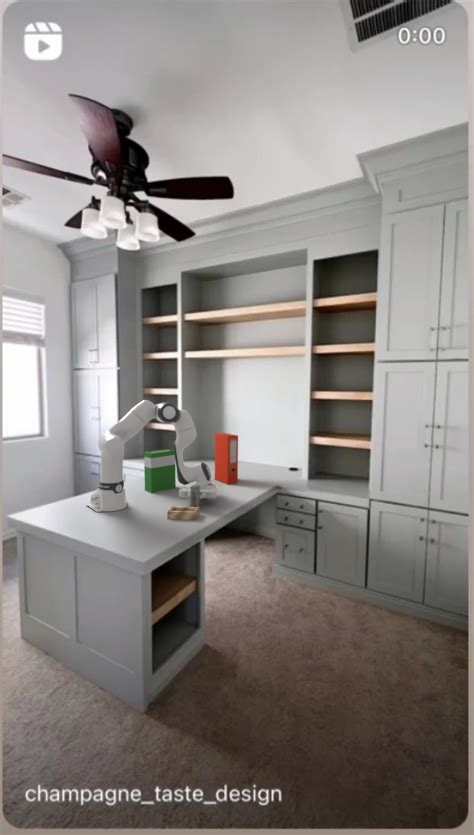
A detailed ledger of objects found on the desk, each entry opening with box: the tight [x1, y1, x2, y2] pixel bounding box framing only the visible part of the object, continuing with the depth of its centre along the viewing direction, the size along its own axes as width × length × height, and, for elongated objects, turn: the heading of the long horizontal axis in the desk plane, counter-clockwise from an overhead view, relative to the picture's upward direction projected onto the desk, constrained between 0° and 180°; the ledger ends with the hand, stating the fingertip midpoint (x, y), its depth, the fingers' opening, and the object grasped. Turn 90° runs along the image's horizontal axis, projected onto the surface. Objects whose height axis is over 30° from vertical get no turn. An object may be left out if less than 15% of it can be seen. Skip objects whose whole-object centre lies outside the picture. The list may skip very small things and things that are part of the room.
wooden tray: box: [166, 506, 200, 520], centre depth 181 cm, size 14×8×4 cm, turn 84°
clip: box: [190, 484, 201, 510], centre depth 192 cm, size 4×4×12 cm
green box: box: [143, 448, 176, 494], centre depth 230 cm, size 18×7×24 cm, turn 135°
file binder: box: [214, 432, 239, 486], centre depth 250 cm, size 8×17×32 cm, turn 32°
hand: (195, 497), depth 191 cm, fingers closed on clip, 4 cm apart
